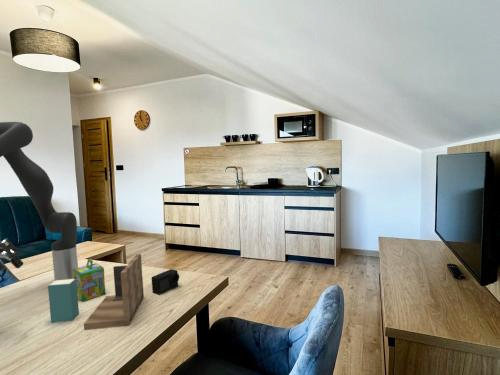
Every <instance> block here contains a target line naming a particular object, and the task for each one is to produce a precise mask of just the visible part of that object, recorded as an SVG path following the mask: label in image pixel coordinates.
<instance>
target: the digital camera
mask: <svg viewBox="0 0 500 375" xmlns="http://www.w3.org/2000/svg"><path fill="white" fill-rule="evenodd" d="M179 279H180V275H179V273H178V270H176V269H173V268H171V269H168V270H165V271H162V272H161V273H160V272H159V273H158V274H156V275H153V276H151V289H152V290H151V291H152V294H154V295H158V296H160V295H162V294H165V293H166V292H168V291H171V290H173V289H175V288H177V287H179V281H180V280H179Z"/></svg>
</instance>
